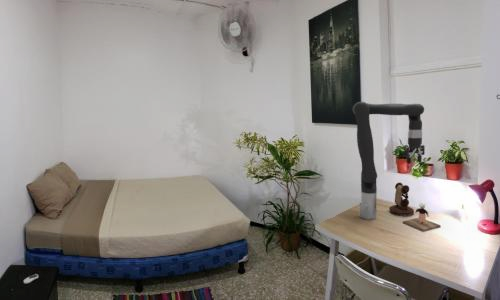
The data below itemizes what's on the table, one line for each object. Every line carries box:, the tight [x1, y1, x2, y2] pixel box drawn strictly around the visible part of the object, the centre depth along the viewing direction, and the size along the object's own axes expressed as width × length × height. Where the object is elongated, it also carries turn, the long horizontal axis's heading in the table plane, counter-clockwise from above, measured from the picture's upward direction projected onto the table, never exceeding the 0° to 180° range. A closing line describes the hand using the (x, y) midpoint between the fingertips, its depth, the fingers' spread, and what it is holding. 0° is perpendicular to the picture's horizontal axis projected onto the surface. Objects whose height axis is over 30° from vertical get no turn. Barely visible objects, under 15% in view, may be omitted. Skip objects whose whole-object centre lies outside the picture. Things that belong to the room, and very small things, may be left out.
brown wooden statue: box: [388, 182, 415, 217], centre depth 197 cm, size 15×15×20 cm
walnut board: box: [402, 217, 441, 233], centre depth 178 cm, size 14×14×1 cm
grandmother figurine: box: [414, 202, 430, 225], centre depth 177 cm, size 8×4×13 cm, turn 50°
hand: (414, 162), depth 183 cm, fingers open, 8 cm apart
